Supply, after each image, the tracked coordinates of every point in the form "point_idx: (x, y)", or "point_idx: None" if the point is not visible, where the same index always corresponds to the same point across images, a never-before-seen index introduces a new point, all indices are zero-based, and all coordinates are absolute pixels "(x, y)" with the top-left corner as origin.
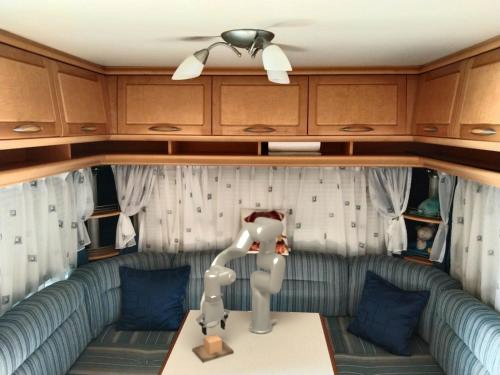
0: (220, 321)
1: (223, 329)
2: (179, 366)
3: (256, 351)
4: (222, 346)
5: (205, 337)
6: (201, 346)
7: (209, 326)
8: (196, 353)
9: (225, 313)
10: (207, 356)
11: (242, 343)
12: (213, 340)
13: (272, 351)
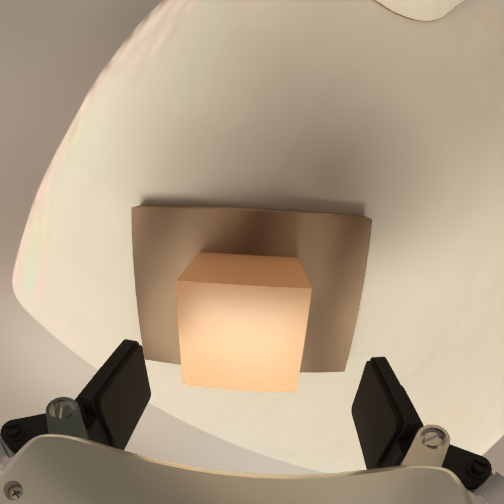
0: (391, 413)
1: (352, 412)
2: (52, 307)
3: (424, 385)
4: (322, 303)
5: (189, 292)
6: (195, 221)
7: (387, 6)
8: (136, 274)
9: (479, 494)
10: (177, 350)
11: (441, 294)
12: (229, 371)
13: (455, 402)
